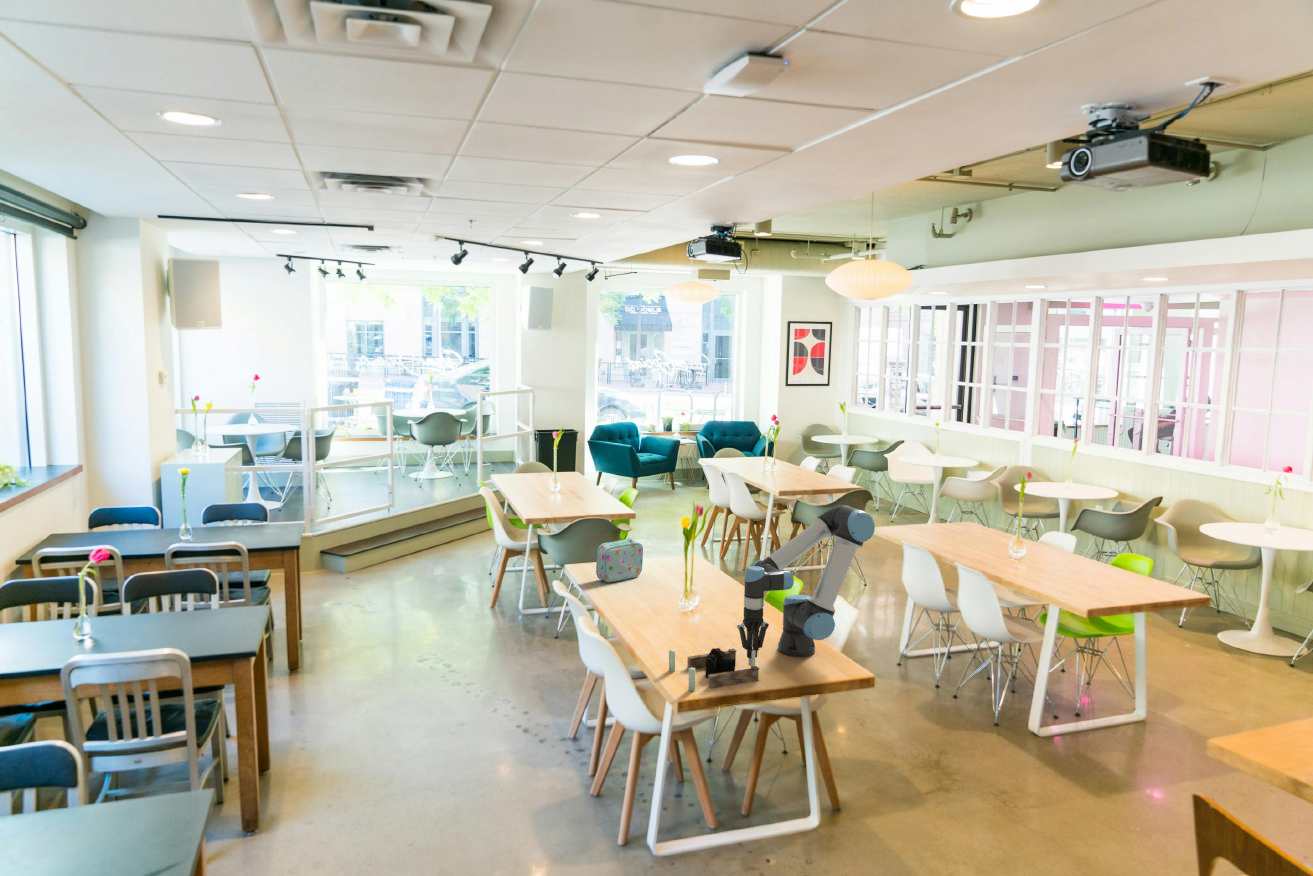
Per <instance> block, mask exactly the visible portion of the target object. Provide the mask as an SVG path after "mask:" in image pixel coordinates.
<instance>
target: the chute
mask: <svg viewBox="0 0 1313 876" xmlns="http://www.w3.org/2000/svg"><path fill="white" fill-rule="evenodd" d="M724 652H725V657H728V658H732V659H735V664H736V658H737V650H736V649H735V648H730V649H728V650H726V651H724ZM707 655H709V653H702V654H697V655H690V656H687V669H689V668H695V669H701V668H706V660H707V659H706V657H707ZM759 672H760V667H759V666H757V665H755V666H752V667H751V666H750V668H746V669H738V670H735V671H730V672H723V673H717V674H710V675H708V679H707V687H708V688H710V689H714V688H715V689H716V688H721V687H727V686H734V685H740V684H747V683H755V682H758V681H759Z"/></svg>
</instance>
